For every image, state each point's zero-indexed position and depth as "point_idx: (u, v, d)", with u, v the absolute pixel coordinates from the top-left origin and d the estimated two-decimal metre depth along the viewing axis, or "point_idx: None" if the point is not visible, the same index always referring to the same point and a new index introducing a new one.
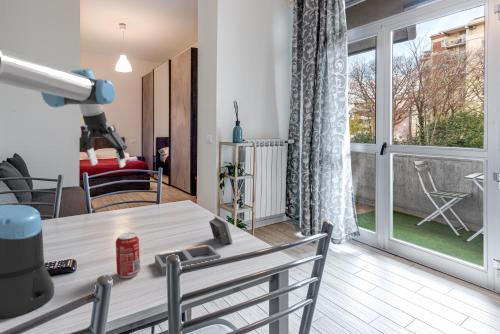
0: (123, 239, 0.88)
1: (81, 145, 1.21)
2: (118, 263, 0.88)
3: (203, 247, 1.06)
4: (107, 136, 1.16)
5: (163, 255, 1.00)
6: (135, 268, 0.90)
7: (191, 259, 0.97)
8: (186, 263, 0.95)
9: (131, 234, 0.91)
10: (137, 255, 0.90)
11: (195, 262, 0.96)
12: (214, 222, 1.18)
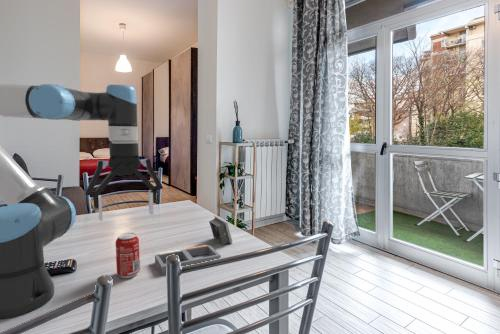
0: (123, 239, 0.88)
1: None
2: (118, 263, 0.88)
3: (203, 247, 1.06)
4: (109, 173, 0.86)
5: (163, 255, 1.00)
6: (135, 268, 0.90)
7: (191, 259, 0.97)
8: (186, 263, 0.95)
9: (131, 234, 0.91)
10: (137, 255, 0.90)
11: (195, 262, 0.96)
12: (214, 222, 1.18)
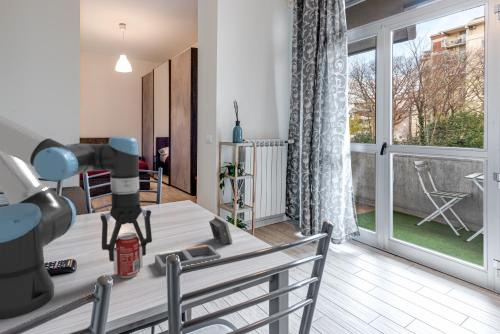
0: (123, 239, 0.88)
1: None
2: (118, 263, 0.88)
3: (203, 247, 1.06)
4: (115, 224, 0.89)
5: (163, 255, 1.00)
6: (135, 268, 0.90)
7: (191, 259, 0.97)
8: (186, 263, 0.95)
9: (131, 234, 0.91)
10: (137, 255, 0.90)
11: (195, 262, 0.96)
12: (214, 222, 1.18)
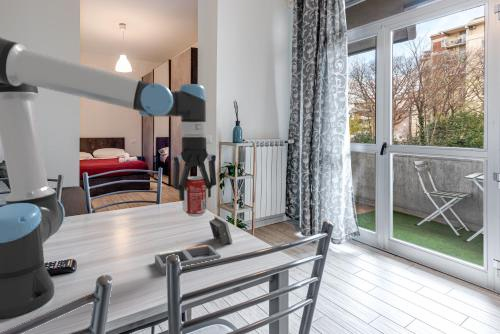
0: (193, 179, 0.95)
1: None
2: (188, 202, 0.96)
3: (203, 247, 1.06)
4: (184, 167, 0.96)
5: (163, 255, 1.00)
6: (203, 207, 0.97)
7: (191, 259, 0.97)
8: (186, 263, 0.95)
9: (198, 177, 0.99)
10: (204, 196, 0.98)
11: (195, 262, 0.96)
12: (214, 222, 1.18)
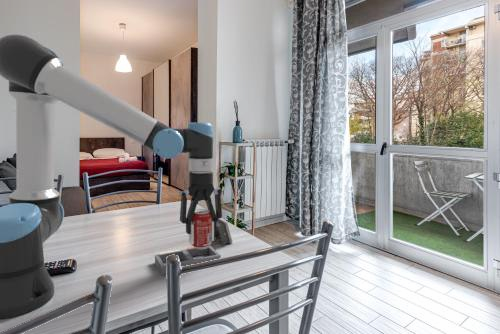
0: (200, 214, 0.98)
1: None
2: (194, 235, 0.98)
3: None
4: (191, 201, 0.99)
5: (163, 255, 1.00)
6: (209, 240, 1.00)
7: (191, 259, 0.97)
8: (186, 263, 0.95)
9: (204, 210, 1.01)
10: (210, 229, 1.00)
11: (195, 262, 0.96)
12: None
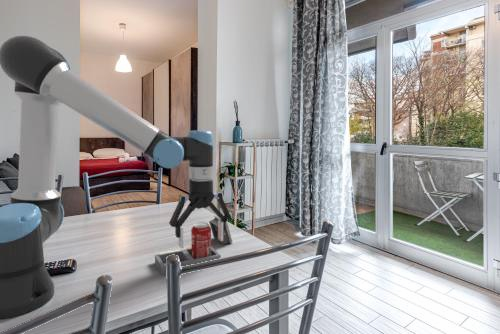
0: (199, 228, 0.98)
1: None
2: (194, 249, 0.99)
3: None
4: (188, 206, 0.98)
5: (163, 255, 1.00)
6: (209, 253, 1.00)
7: (191, 259, 0.97)
8: (186, 263, 0.95)
9: (203, 223, 1.02)
10: (210, 242, 1.01)
11: (195, 262, 0.96)
12: (214, 222, 1.18)
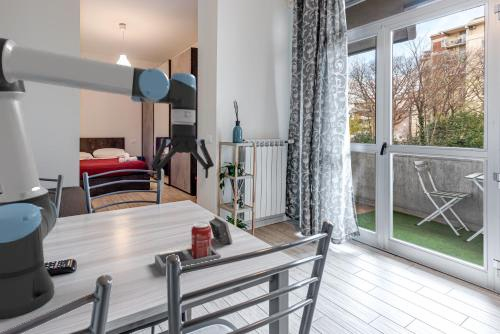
0: (199, 227, 0.98)
1: None
2: (194, 249, 0.99)
3: None
4: (170, 150, 0.99)
5: (163, 255, 1.00)
6: (209, 253, 1.00)
7: (191, 259, 0.97)
8: (186, 263, 0.95)
9: (204, 223, 1.02)
10: (210, 242, 1.01)
11: (195, 262, 0.96)
12: (214, 222, 1.18)
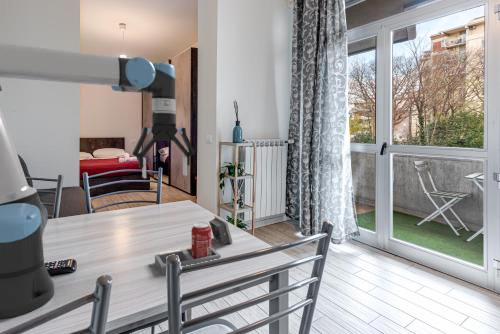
0: (199, 228, 0.98)
1: None
2: (194, 249, 0.99)
3: None
4: (151, 139, 1.02)
5: (163, 255, 1.00)
6: (209, 253, 1.00)
7: (191, 259, 0.97)
8: (186, 263, 0.95)
9: (204, 223, 1.02)
10: (210, 242, 1.01)
11: (195, 262, 0.96)
12: (214, 222, 1.18)
